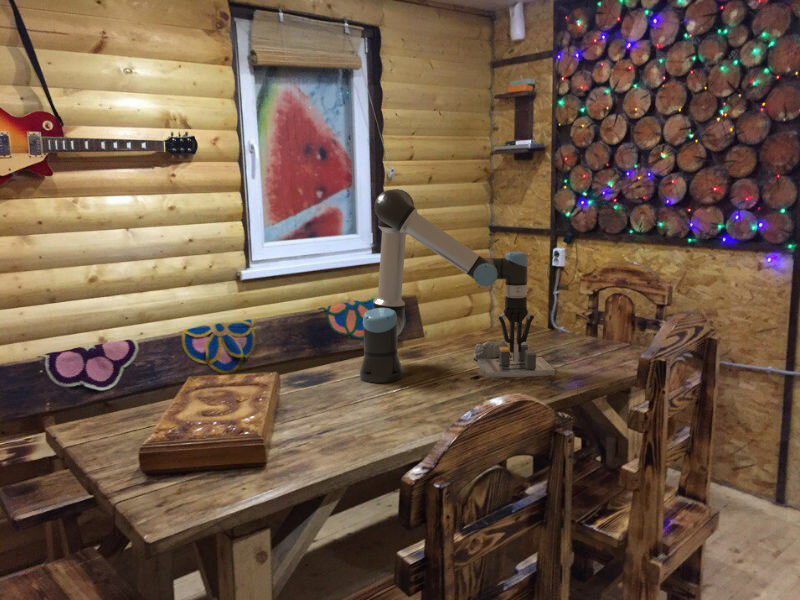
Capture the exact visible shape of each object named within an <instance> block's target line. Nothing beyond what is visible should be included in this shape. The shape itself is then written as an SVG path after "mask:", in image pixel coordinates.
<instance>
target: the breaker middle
mask: <svg viewBox="0 0 800 600" xmlns="http://www.w3.org/2000/svg"><path fill="white" fill-rule="evenodd" d="M508 347H509V346H508ZM508 347H499V356H498V359H499V363H500V364H501V366H504V365H510V358H511V352H510V347H509V348H508Z"/></svg>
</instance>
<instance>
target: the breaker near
mask: <svg viewBox="0 0 800 600" xmlns="http://www.w3.org/2000/svg"><path fill="white" fill-rule="evenodd" d="M536 357H537V352H536V351H535V350H534V349H528V350H525V367H526V368H527V369H536Z"/></svg>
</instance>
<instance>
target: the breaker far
mask: <svg viewBox="0 0 800 600" xmlns="http://www.w3.org/2000/svg"><path fill="white" fill-rule="evenodd" d="M525 350H529V345H528V343H527V342H522V344H521V352H518V360H519V361H522V360H525Z"/></svg>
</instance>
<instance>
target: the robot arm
mask: <svg viewBox="0 0 800 600" xmlns="http://www.w3.org/2000/svg"><path fill="white" fill-rule="evenodd" d="M414 203H415V202H414V200H413V198H412V196H411V194H409V192H407V191H406V190H403V189H399V188H392V189H387V190H384V191H382V192H381V193H380V194H379V195H378V196H376V199H375V202H374V213H375V214H376V216H377V218H378V228H379V230H381V240H380V241H381V243H380V258H379V259H380V260H379V273H378V288H377V289H378V290H377V297H376V298H375V299H374V300H372V302H373V303H372V309H369V310H366V311H365V313H364V314H363V319H362V329H363V330H362V331H363V350H364V351H363V359H362V363H361V366H360V369H359V378H360V379H361V381H364V382H367V383H375V384H376V383H377V384H378V383H379V384H381V383H385V384H386V383H392V382H396V381H399V380H401V379H402V378H403V376H404V371H403V369H404V368H403V366H402V364H401V363H402V362H401V360H400V357H399V355H398V336H399V335H400V334H401V333H402V332H403V330H404V328H405V327H406V323H407V322H406V321H407V319H406V313H405V307H406V306H405V305H406V303H405V301H404V300H403V298H402V293H403V292H402V291H403V279H404V266H405V253H406V238H407V235H408V236H410V237H411V238H413V240H414V239H415V240H416V241H417V242H419V243H420V244H422V245H423V246H424V247H427V249H429V250H431V251H432V252H434V253H435V254H437V255H438V256H439V257H441V258H443V259H444V260H446V261H447V262H448V263H450V264H452V265H453V266H455V267H456V268H457V269H459V270H460V271H462V272H464V273H465V274H466V275H468V276H469V277H470V278H472V279H473V280H474V281H475V282H476V284H477V285H478V286H481V287H490V286H492V285H493V284H495V282H496V281H497V280H504V281H505V282H504V283H505V286H504V287H505V289H504V295H505V298H504V299H505V300H504V310H503V313H502V314H498V315H497V320H498V321H499V322H500V326H501V331H502V335H503V340H504V341H505V343H506V344H507V343H509V349H510V354H511V358H512V361H513V362H518V352H521V344H522V343H523V342H525V343H527V340H528V336H529V331H530V330H531V329H530V328H531V325H532V321H533V320H534V319H535V315H534V314H531V313H529V311H528V308H527V307H528V306H527V305H528V297H527V295H528V255H527V253H526V252H524V251H508V252H506V253H505V257H502V258H500V257H482V256H481V255H479V254H478V253H477V252H475V251H474V250H472V249H471V248H469V247H468V246H466V245H465V244H463V243H462V242H460V241H459V240H457V239H456V238H454V237H453V236H451V235H450V234H449V233H447V232H446V231H444V230H443V229H442V228H440V227H438V226H437V225H435V224H434V223H433V222H431V221H430V220H428V219H427V218H425V217H424V216H422V215H420V213H418V209H417V207H415V204H414ZM525 318H526V320H525ZM506 319H507V320H508V323H509V329H507V325H506V322H505V320H506ZM524 320H525V323H524V327H523V329H522V326H523V321H524ZM515 327H516V338H515ZM508 330H509V332H508ZM522 330H523V331H522ZM508 333H509V334H508ZM515 339H516V340H515ZM515 341H516V342H515Z"/></svg>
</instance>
